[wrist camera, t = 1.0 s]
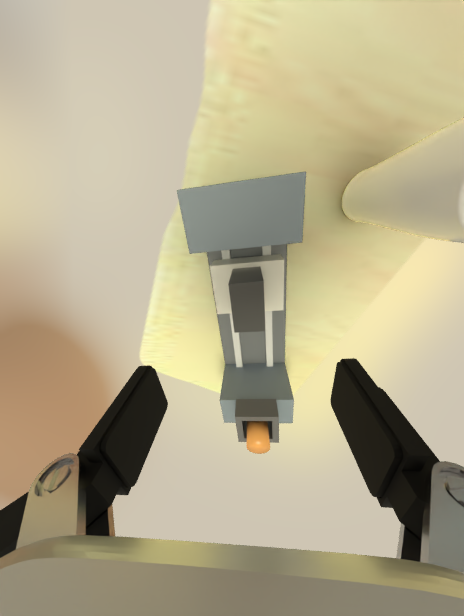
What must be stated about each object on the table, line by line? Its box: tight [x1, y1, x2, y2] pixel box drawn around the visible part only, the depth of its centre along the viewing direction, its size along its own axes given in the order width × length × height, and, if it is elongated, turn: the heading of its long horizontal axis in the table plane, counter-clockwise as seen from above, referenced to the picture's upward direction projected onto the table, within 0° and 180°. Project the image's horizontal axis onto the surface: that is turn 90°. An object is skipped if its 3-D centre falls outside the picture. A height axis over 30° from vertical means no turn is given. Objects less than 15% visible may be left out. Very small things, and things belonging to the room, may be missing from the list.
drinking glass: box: [342, 118, 464, 243], centre depth 15 cm, size 7×7×15 cm
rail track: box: [177, 172, 306, 442], centre depth 24 cm, size 30×10×12 cm, turn 6°
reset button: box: [247, 421, 270, 454], centre depth 24 cm, size 3×3×3 cm
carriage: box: [210, 254, 284, 333], centre depth 20 cm, size 6×8×8 cm
